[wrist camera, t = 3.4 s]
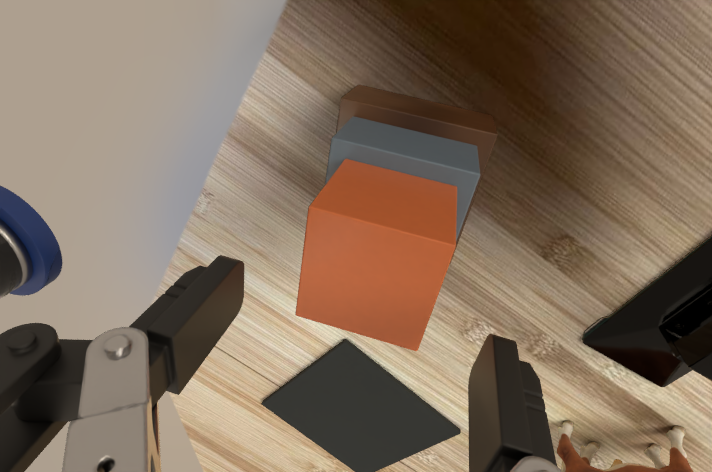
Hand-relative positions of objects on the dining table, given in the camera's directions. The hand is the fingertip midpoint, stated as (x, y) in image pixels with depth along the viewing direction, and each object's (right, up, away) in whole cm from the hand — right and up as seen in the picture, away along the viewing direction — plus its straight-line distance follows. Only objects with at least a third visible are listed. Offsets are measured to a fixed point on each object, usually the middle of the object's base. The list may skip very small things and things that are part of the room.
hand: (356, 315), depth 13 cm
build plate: (+22, -2, +13) cm, 26 cm away
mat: (0, -15, +26) cm, 30 cm away
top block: (+1, +3, +6) cm, 7 cm away
